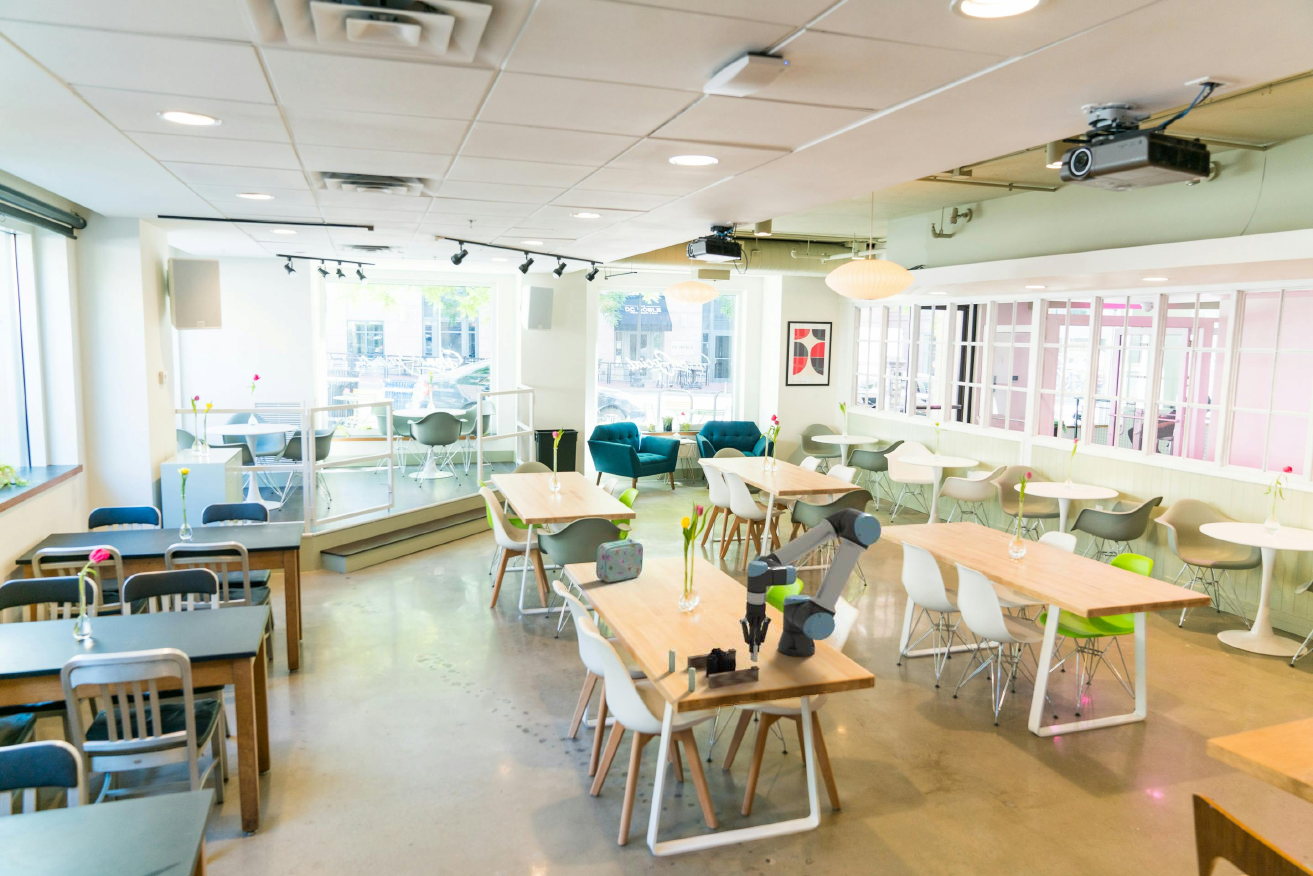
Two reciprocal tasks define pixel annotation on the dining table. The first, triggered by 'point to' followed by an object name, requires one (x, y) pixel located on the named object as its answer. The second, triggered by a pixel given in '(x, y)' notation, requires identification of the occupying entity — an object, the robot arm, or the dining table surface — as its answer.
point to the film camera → (719, 662)
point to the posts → (691, 670)
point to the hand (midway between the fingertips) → (753, 660)
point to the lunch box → (619, 560)
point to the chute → (725, 677)
